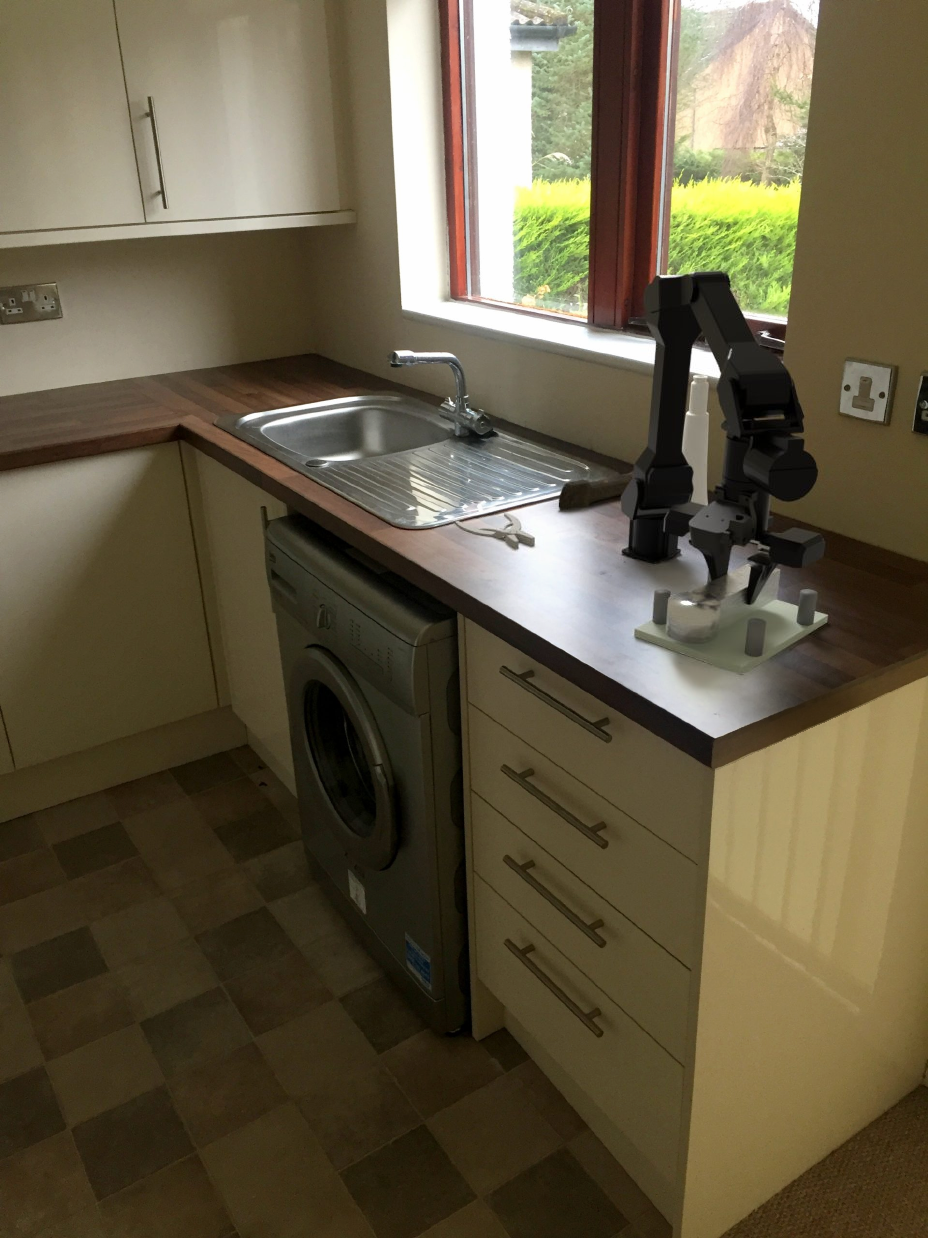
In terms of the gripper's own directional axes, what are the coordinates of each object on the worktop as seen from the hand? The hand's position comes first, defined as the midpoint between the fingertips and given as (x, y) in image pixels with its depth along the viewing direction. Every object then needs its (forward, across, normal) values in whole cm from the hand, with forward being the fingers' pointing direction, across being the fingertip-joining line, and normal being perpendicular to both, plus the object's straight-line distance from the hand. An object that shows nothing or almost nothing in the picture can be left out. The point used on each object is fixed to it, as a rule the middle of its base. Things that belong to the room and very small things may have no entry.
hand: (734, 599), depth 125 cm
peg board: (+4, 0, 0) cm, 4 cm away
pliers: (+5, -46, +7) cm, 46 cm away
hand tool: (+5, -44, +31) cm, 54 cm away
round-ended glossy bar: (+2, 0, -3) cm, 3 cm away
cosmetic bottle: (+4, -31, +37) cm, 48 cm away
